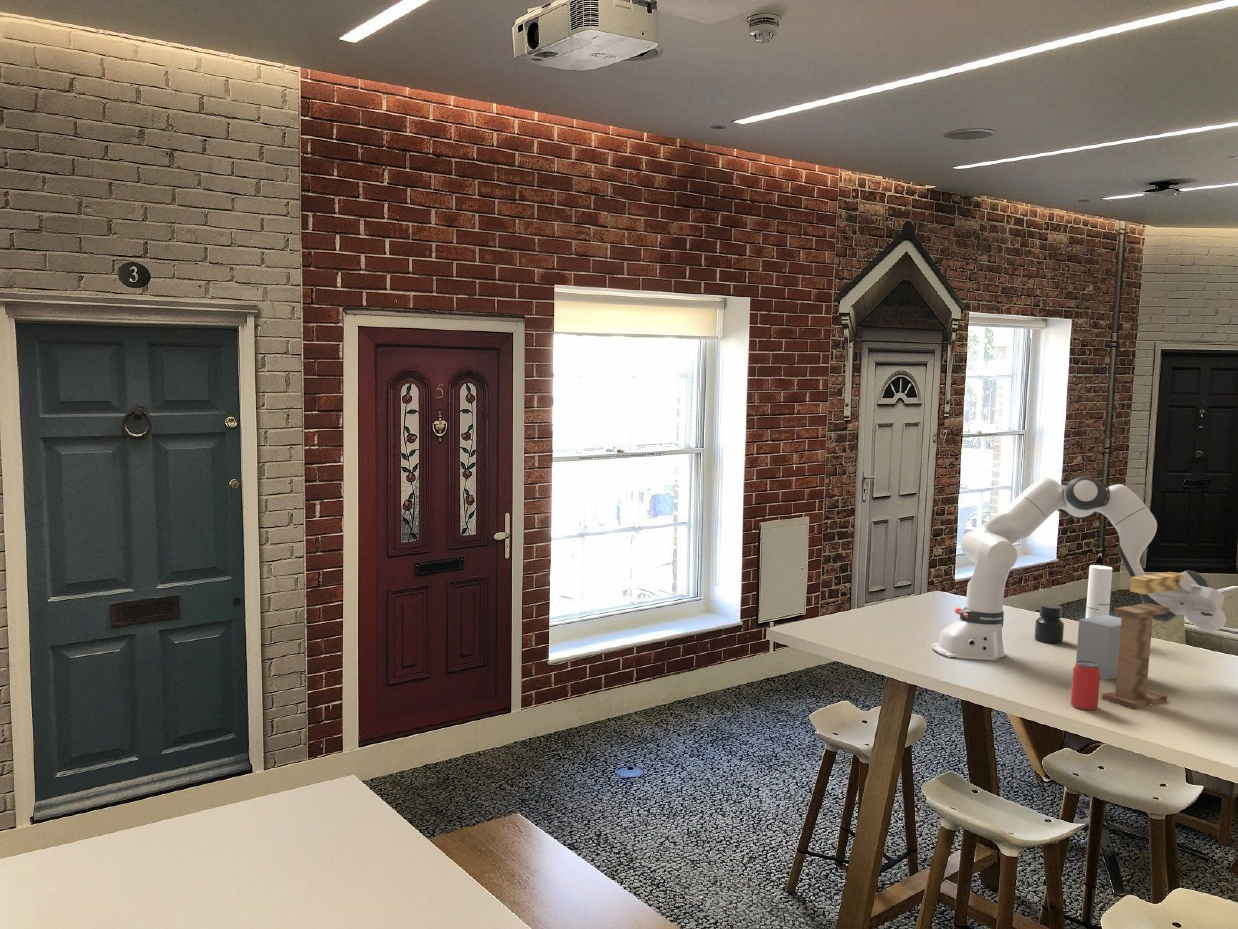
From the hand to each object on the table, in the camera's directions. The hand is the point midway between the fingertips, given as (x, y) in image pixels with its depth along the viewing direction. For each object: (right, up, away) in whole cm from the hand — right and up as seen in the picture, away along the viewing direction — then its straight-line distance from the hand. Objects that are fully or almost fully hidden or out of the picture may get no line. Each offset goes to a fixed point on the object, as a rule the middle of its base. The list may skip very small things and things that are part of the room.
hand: (1169, 579), depth 275 cm
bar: (-5, -3, -3) cm, 6 cm away
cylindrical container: (+11, -28, +64) cm, 71 cm away
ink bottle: (-8, -28, +59) cm, 66 cm away
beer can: (-29, -33, -11) cm, 45 cm away
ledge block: (-7, -31, +23) cm, 39 cm away
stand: (-12, -33, -3) cm, 35 cm away
